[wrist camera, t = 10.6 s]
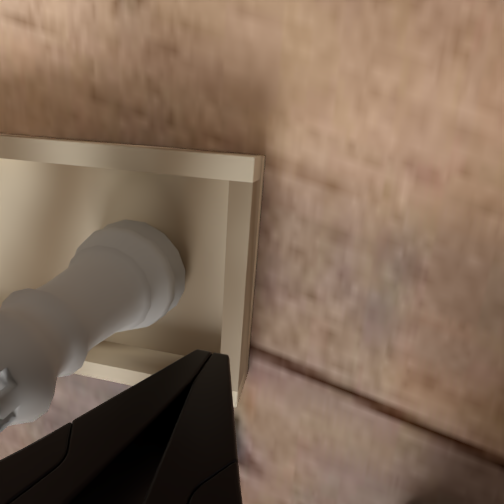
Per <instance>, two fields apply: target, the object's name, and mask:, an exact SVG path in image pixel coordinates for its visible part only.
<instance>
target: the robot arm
mask: <svg viewBox="0 0 504 504" xmlns="http://www.w3.org/2000/svg"><path fill="white" fill-rule="evenodd" d="M0 504H242V496H241V488H240V478H239V466H238V456H237V444H236V432H235V420H234V408H233V396H232V384H231V371H230V359H229V356H228V355H227V354H222V353H216V352H215V353H213V354H212V352H210V351H206V350H200V349H196V350H194V351H192V352H191V353H189V354H187V355H186V356H184V357H182V358H180V359H179V360H177V361H175V362H173V363H172V364H170V365H168V366H166V367H165V368H163V369H161V370H160V371H158V372H156V373H154V374H153V375H151V376H149V377H147V378H146V379H144V380H142V381H141V382H139V383H137V384H135V385H134V386H132V387H130V388H128V389H127V390H125V391H123V392H121V393H120V394H118V395H116V396H115V397H113V398H111V399H109V400H108V401H106V402H104V403H102V404H101V405H99V406H97V407H96V408H94V409H92V410H90V411H89V412H87V413H85V414H83V415H82V416H80V417H78V418H76V419H75V420H73V422H72V423H68V424H66V425H64V426H62V427H61V428H59V429H57V430H55V431H54V432H52V433H50V434H48V435H47V436H45V437H43V438H41V439H39V440H38V441H36V442H34V443H32V444H30V445H28V446H27V447H25V448H23V449H21V450H19V451H17V452H15V453H13V454H11V455H9V456H7V457H5V458H4V459H2V460H0Z"/></svg>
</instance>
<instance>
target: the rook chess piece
mask: <svg viewBox="0 0 504 504" xmlns="http://www.w3.org/2000/svg"><path fill="white" fill-rule="evenodd" d="M184 290H185V268H184V265H183V262H182V260H181V257H180V254H179V251H178V250H177V248H176V247H175V246H174V245H173V244H172V242H171V241H170V240H169V239H168V238H167V236H166V235H165V234H164V233H162V232H161V231H159V230H157V229H156V228H154V227H152V226H151V225H149V224H147V223H145V222H139V221H132V220H126V219H125V220H121V221H118V222H115V223H111V224H108V225H106V226H105V227H104V228H103V229H101V230H97V231H94V232H93V233H92V234H91V235H90V236H89V237H88V238H87V239H86V240H85V241H84V242H83V243H82V244H81V245H80V246H79V247H78V248H77V250H76V253H75V256H74V257H73V258H72V259H71V260H70V263H69V266H68V268H67V269H66V270H64V271H63V272H62V273H60V274H59V275H58V276H56V277H55V278H53V279H52V280H51V281H49V282H48V283H46V284H45V285H43V286H41V287H39V288H37V289H30V288H27V289H23V290H18V291H14V292H12V293H11V294H10V295H9V296H8V297H7V298H6V299H5V300H4V301H3V302H2V305H1V309H0V432H1V431H3V430H4V429H5V428H6V427H7V426H9V425H16V424H22V423H28V422H33V421H35V420H36V419H38V418H39V417H40V416H42V415H43V414H45V413H46V412H47V411H48V409H49V406H50V404H51V401H52V399H53V396H54V392H55V386H56V379H57V377H62V376H69V375H72V374H73V373H74V372H76V371H77V370H78V369H80V368H81V367H82V366H83V363H84V361H85V358H86V356H87V354H88V351H90V350H91V349H92V348H93V347H94V346H96V345H97V344H99V343H100V342H102V341H103V340H105V339H106V338H108V337H110V336H111V335H113V334H114V333H116V332H122V331H127V330H133V329H138V328H144V327H148V326H150V325H152V324H154V323H155V322H156V321H158V320H159V319H160V318H162V317H163V316H165V315H166V314H167V312H168V311H170V310H171V309H172V308H174V307H175V306H177V304H178V302H179V300H180V298H181V296H182V294H183V292H184Z"/></svg>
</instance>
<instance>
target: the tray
mask: <svg viewBox="0 0 504 504" xmlns="http://www.w3.org/2000/svg"><path fill="white" fill-rule="evenodd" d="M264 167H265V155H253V154H241V153H229V152H217V151H205V150H193V149H181V148H169V147H157V146H145V145H133V144H121V143H109V142H97V141H85V140H73V139H61V138H49V137H36V136H24V135H12V134H0V309H1V305H2V302H3V301H4V300H5V299H6V298H7V297H8V296H9V295H10V294H11V293H12V292H14V291H18V290H23V289H27V288H30V289H37V288H39V287H41V286H43V285H45V284H46V283H48V282H49V281H51V280H52V279H53V278H55V277H56V276H58V275H59V274H60V273H62V272H63V271H64V270H66V269H67V268H68V266H69V263H70V260H71V259H72V258H73V257H74V256H75V253H76V250H77V248H78V247H79V246H80V245H81V244H82V243H83V242H84V241H85V240H86V239H87V238H88V237H89V236H90V235H91V234H92V233H93V232H94V231H97V230H101V229H103V228H104V227H105V226H106V225H108V224H111V223H115V222H118V221H121V220H125V219H126V220H132V221H139V222H145V223H147V224H149V225H151V226H152V227H154V228H156V229H157V230H159V231H161V232H162V233H164V234H165V235H166V236H167V238H168V239H169V240H170V241H171V242H172V244H173V245H174V246H175V247H176V248H177V250H178V251H179V254H180V257H181V260H182V262H183V265H184V268H185V290H184V292H183V294H182V296H181V298H180V300H179V302H178V304H177V306H175V307H174V308H172V309H171V310H170V311H168V312H167V314H166V315H165V316H163V317H162V318H160V319H159V320H158V321H156V322H155V323H154V324H152V325H150V326H148V327H144V328H138V329H133V330H127V331H122V332H116V333H114V334H113V335H111V336H110V337H108V338H106V339H105V340H103V341H102V342H100V343H99V344H97V345H96V346H94V347H93V348H92V349H91V350H90V351H88V354H87V356H86V358H85V361H84V363H83V366H82V367H81V368H80V369H78V370H77V371H76V372H74V374H79V375H84V376H88V377H93V378H98V379H103V380H107V381H112V382H117V383H122V384H126V385H131V386H134V385H135V384H137V383H139V382H141V381H142V380H144V379H146V378H147V377H149V376H151V375H153V374H154V373H156V372H158V371H160V370H161V369H163V368H165V367H166V366H168V365H170V364H172V363H173V362H175V361H177V360H179V359H180V358H182V357H184V356H186V355H187V354H189V353H191V352H192V351H194V350H196V349H200V350H206V351H210V352H212V354H213V353H215V352H216V353H222V354H227V355H228V356H229V359H230V371H231V384H232V396H233V407H236V408H237V405H238V402H239V399H240V396H241V392H242V389H243V386H244V383H245V380H246V377H247V374H248V362H249V350H250V338H251V326H252V313H253V301H254V289H255V277H256V264H257V252H258V240H259V228H260V216H261V203H262V191H263V179H264Z"/></svg>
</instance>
